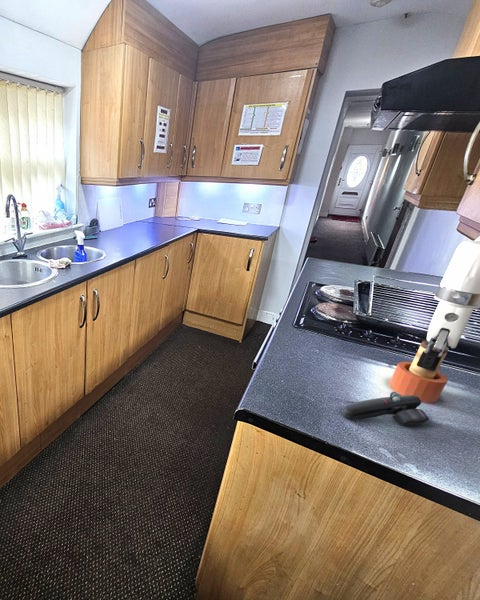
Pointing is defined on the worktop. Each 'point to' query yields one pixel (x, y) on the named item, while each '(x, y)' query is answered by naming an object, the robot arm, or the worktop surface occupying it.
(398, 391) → the bowl
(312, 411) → the worktop surface
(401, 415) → the can opener
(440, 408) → the worktop surface
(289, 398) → the worktop surface
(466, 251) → the robot arm
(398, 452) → the worktop surface
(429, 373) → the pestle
